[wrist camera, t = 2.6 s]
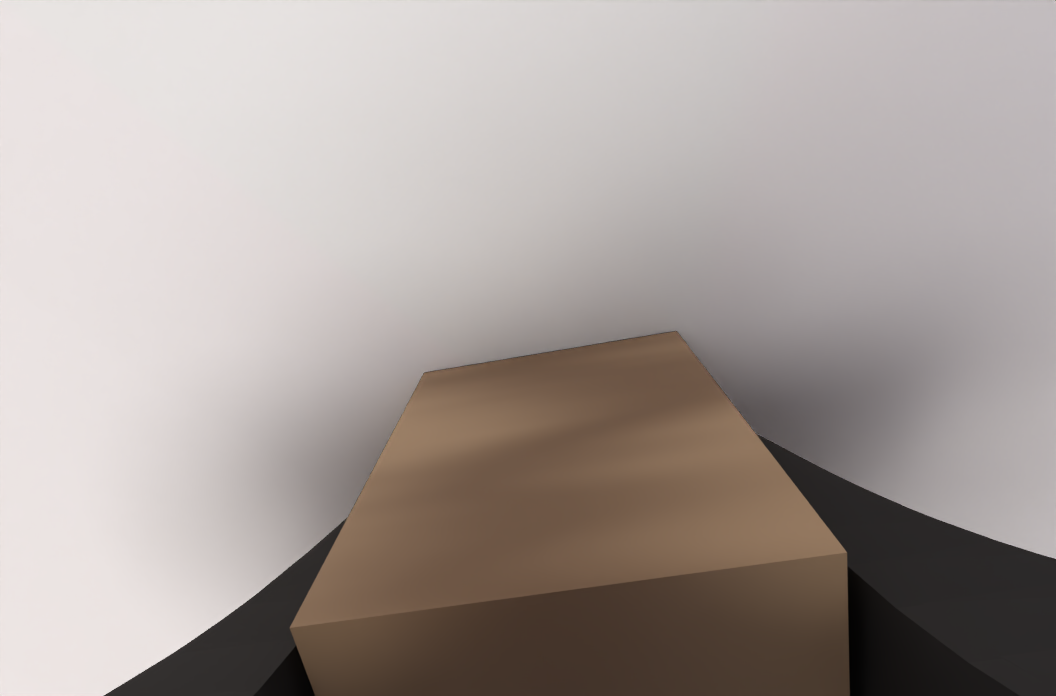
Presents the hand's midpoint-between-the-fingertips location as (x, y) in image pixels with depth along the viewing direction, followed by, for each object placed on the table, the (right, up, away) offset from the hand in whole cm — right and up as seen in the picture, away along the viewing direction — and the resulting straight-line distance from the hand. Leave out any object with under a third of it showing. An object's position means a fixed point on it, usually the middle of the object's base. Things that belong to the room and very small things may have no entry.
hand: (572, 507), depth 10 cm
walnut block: (0, 0, +1) cm, 1 cm away
